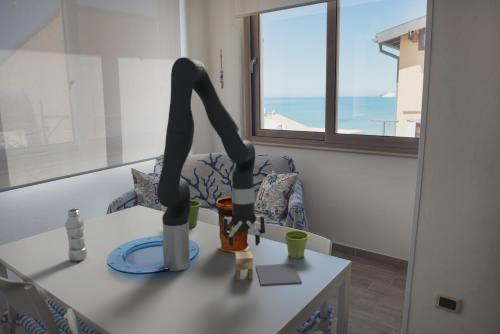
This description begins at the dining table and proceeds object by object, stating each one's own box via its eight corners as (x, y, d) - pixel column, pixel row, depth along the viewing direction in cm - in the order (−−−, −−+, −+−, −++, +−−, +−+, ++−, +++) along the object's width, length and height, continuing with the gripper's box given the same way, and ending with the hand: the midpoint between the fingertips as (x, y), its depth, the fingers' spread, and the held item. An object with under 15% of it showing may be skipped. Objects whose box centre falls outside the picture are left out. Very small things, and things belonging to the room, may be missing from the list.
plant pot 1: (190, 231, 175) (189, 208, 173) (171, 226, 182) (170, 204, 179) (206, 224, 185) (205, 202, 183) (188, 220, 191) (187, 198, 189)
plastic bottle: (91, 257, 148) (86, 208, 144) (76, 264, 142) (71, 214, 138) (79, 254, 150) (74, 206, 147) (64, 261, 144) (59, 211, 141)
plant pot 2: (307, 261, 143) (307, 240, 142) (282, 259, 145) (283, 238, 144) (308, 251, 152) (309, 231, 151) (285, 249, 154) (285, 229, 153)
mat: (260, 285, 126) (260, 284, 125) (255, 266, 139) (255, 265, 139) (301, 283, 127) (301, 281, 127) (292, 264, 141) (292, 263, 141)
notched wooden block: (236, 280, 129) (236, 258, 127) (235, 273, 134) (235, 252, 133) (252, 279, 130) (252, 258, 128) (251, 272, 135) (250, 251, 133)
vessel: (209, 250, 154) (209, 203, 150) (225, 238, 167) (224, 195, 163) (242, 256, 149) (242, 207, 145) (255, 243, 162) (255, 198, 158)
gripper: (222, 204, 122) (224, 251, 125) (265, 202, 124) (266, 248, 127) (221, 198, 130) (223, 242, 133) (262, 196, 131) (263, 240, 134)
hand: (244, 245), depth 130 cm, fingers open, 8 cm apart
